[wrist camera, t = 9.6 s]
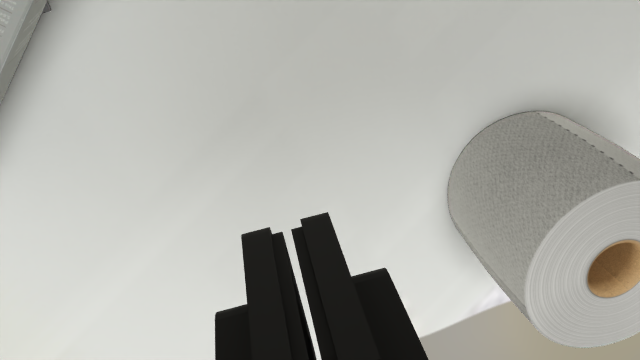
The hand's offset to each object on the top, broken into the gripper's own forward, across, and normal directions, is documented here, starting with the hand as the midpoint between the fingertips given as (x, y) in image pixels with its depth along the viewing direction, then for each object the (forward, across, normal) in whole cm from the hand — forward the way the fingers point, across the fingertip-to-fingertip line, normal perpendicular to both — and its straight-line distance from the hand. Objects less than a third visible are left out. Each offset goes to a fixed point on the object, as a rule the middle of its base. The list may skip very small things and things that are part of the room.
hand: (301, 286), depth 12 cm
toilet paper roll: (+29, -17, +17) cm, 38 cm away
